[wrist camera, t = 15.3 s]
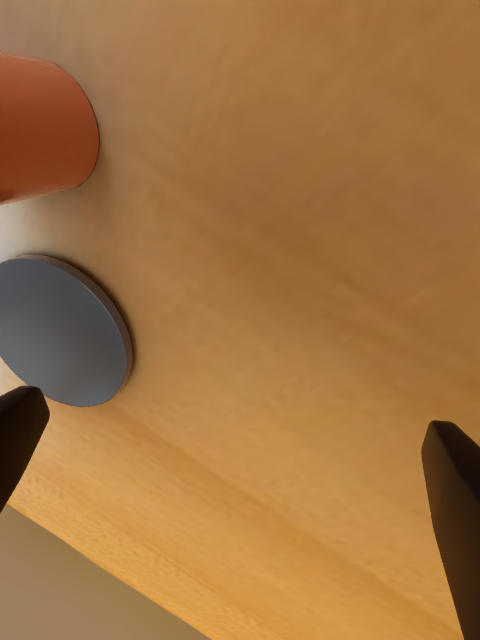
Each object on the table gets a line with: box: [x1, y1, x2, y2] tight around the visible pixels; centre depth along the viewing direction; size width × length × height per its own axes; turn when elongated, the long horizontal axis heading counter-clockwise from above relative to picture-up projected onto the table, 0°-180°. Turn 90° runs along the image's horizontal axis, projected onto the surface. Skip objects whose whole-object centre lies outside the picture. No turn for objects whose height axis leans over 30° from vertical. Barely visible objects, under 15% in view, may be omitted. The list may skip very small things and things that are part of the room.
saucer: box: [0, 255, 132, 407], centre depth 25 cm, size 11×11×1 cm
